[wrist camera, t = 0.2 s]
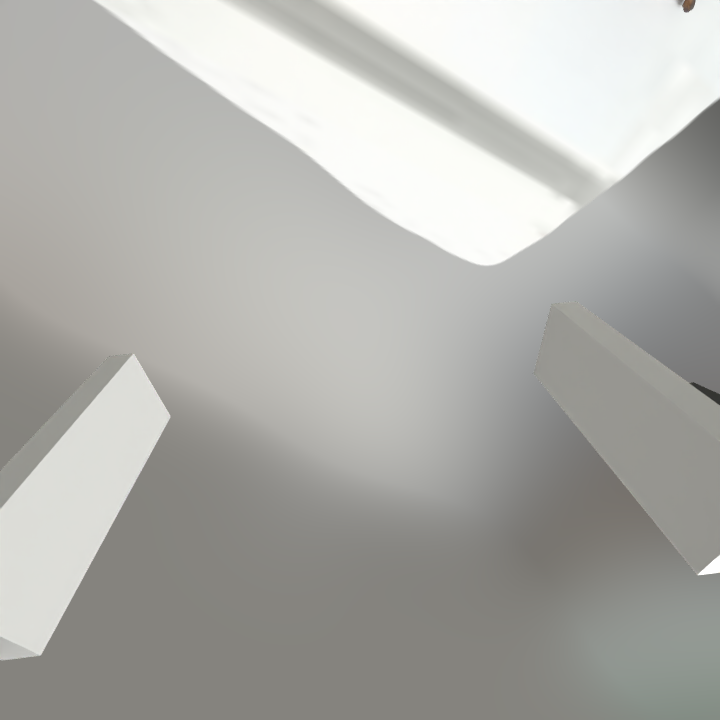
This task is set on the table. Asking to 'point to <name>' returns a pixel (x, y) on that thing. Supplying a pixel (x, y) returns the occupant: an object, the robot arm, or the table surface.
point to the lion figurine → (688, 5)
